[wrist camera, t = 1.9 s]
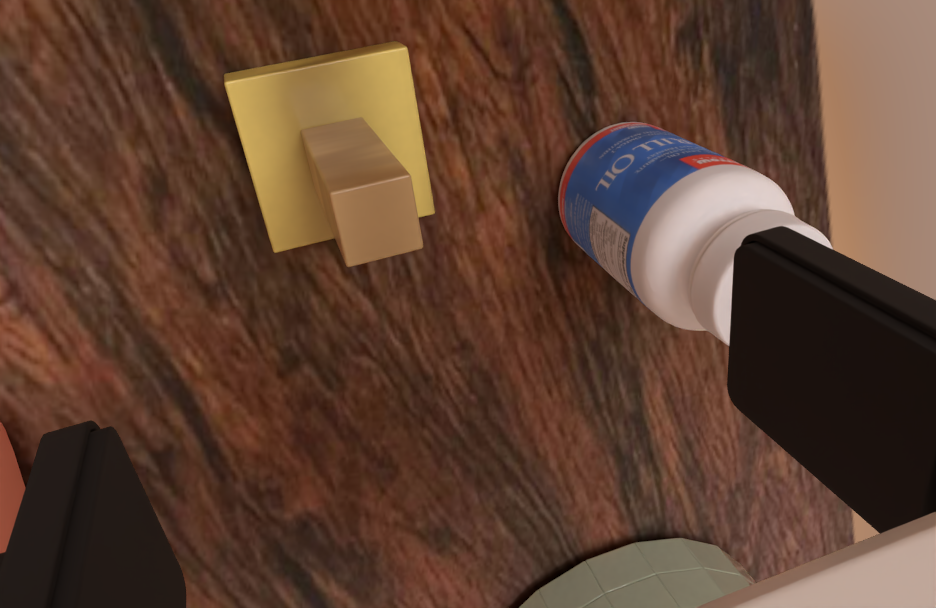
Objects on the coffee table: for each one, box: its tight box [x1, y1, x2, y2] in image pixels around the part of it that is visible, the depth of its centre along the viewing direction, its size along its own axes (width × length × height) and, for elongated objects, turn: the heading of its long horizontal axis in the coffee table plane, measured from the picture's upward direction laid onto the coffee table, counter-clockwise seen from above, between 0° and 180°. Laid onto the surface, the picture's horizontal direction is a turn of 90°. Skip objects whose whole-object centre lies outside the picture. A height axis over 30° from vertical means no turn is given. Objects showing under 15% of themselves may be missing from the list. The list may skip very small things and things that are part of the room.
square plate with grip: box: [224, 41, 435, 267], centre depth 21 cm, size 6×6×8 cm
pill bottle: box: [558, 122, 833, 346], centre depth 24 cm, size 6×5×10 cm
